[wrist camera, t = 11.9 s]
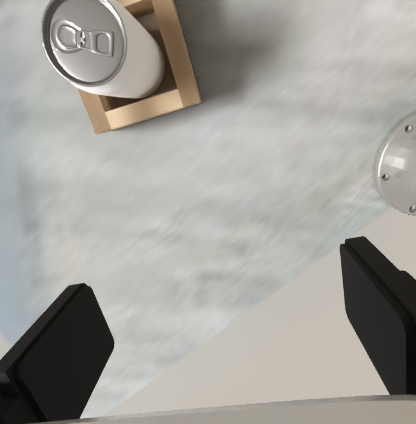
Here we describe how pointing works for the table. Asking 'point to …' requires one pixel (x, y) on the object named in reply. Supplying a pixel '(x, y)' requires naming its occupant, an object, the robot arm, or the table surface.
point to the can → (101, 48)
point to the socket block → (172, 81)
